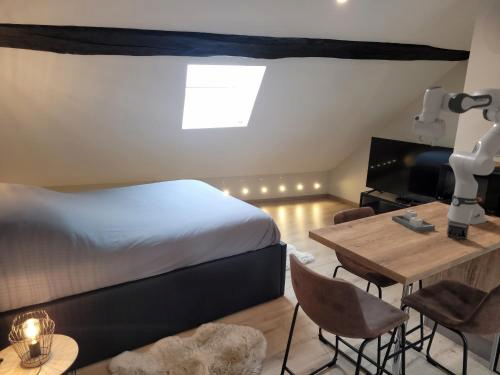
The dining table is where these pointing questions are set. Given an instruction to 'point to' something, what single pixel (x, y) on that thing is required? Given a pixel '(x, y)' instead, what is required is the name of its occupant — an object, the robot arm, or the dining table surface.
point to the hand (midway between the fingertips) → (426, 144)
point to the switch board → (405, 222)
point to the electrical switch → (457, 229)
